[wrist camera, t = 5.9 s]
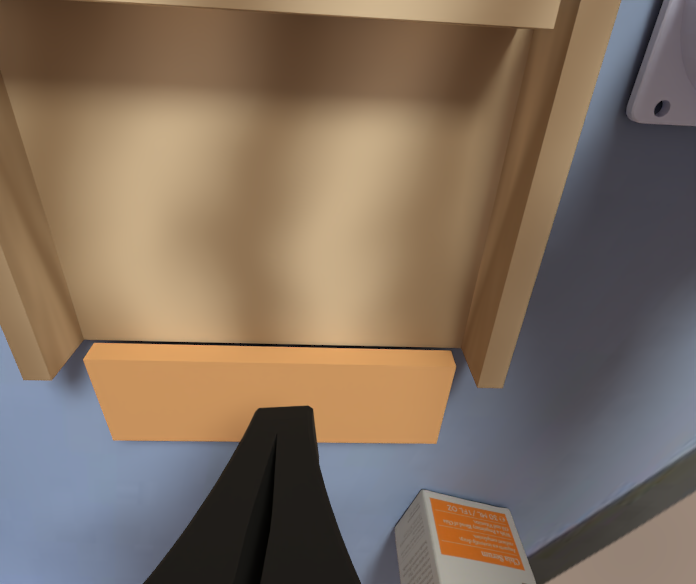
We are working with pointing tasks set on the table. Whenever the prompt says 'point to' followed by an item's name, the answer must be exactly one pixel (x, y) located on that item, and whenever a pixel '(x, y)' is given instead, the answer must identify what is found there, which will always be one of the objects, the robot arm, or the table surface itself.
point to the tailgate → (269, 390)
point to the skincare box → (459, 543)
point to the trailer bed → (285, 170)
